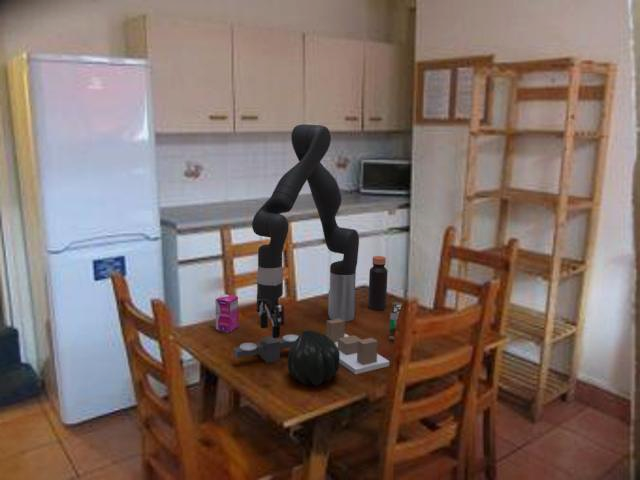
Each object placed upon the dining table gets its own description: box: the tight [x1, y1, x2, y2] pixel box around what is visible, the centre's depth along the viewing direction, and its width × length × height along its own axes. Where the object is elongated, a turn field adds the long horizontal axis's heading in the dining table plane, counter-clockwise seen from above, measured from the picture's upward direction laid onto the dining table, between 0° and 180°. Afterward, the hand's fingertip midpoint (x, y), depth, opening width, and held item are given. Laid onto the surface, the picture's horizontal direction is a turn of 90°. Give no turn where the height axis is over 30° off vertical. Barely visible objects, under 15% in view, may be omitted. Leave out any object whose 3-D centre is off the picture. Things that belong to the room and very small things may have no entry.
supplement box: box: [214, 293, 239, 334], centre depth 191 cm, size 6×6×12 cm
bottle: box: [367, 255, 388, 311], centre depth 214 cm, size 7×7×20 cm
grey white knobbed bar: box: [233, 334, 300, 364], centre depth 169 cm, size 22×5×6 cm, turn 120°
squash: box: [286, 329, 340, 386], centre depth 156 cm, size 14×15×15 cm
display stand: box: [325, 318, 390, 375], centre depth 172 cm, size 24×12×8 cm, turn 30°
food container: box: [388, 301, 403, 342], centre depth 188 cm, size 12×6×10 cm, turn 168°
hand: (269, 332), depth 168 cm, fingers open, 8 cm apart
